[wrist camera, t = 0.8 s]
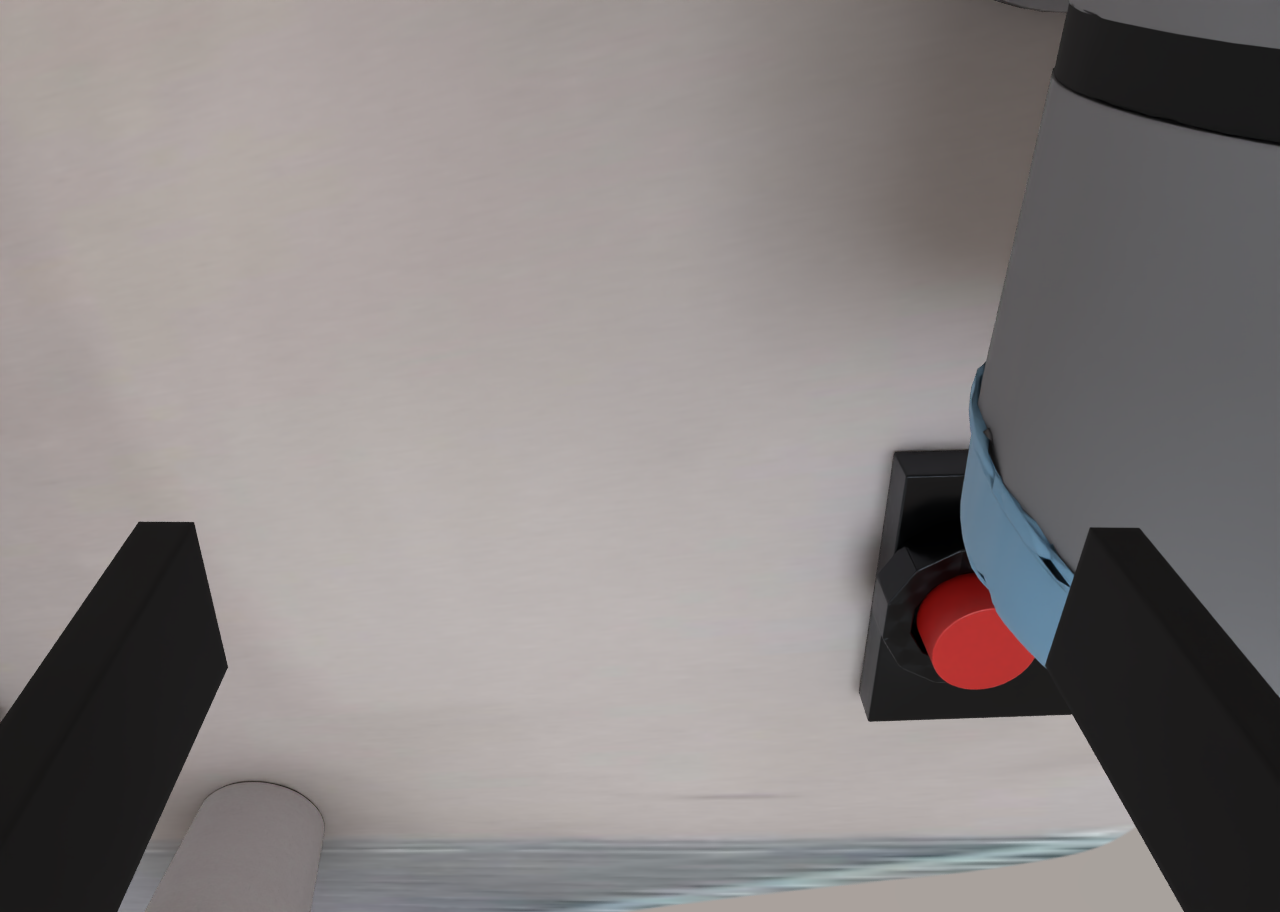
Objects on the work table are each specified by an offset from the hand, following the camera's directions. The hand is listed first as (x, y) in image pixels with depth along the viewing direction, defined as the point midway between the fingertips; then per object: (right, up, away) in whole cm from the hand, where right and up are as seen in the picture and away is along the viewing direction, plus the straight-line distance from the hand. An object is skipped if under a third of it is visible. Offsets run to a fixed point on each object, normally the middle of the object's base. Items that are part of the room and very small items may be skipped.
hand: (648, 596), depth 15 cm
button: (+14, -5, +27) cm, 31 cm away
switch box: (+16, -4, +31) cm, 35 cm away
